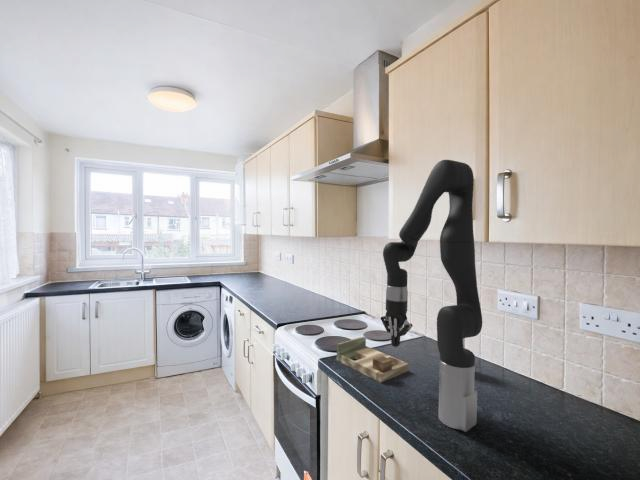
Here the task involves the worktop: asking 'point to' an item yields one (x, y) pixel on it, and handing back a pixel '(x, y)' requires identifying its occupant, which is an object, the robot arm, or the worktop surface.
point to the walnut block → (382, 364)
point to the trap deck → (367, 359)
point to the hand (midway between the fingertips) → (395, 345)
